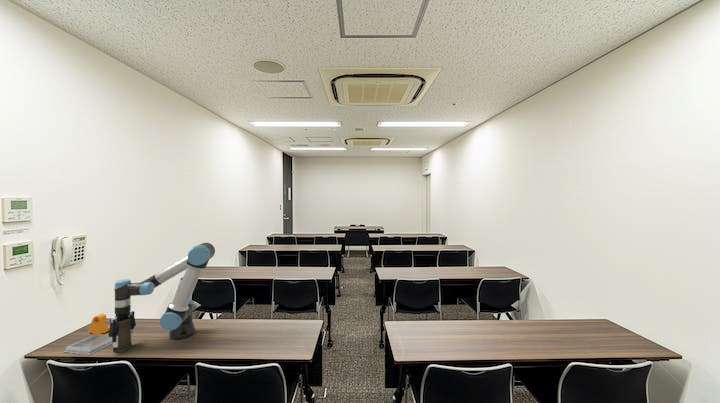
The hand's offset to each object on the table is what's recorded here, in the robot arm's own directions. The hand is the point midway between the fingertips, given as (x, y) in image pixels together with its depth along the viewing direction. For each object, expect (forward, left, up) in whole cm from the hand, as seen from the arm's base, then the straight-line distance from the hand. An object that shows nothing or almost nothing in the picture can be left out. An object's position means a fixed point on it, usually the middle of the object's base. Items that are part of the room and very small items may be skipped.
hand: (122, 343), depth 176 cm
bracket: (+36, -18, -4) cm, 40 cm away
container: (0, 0, -3) cm, 3 cm away
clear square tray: (+21, 0, -3) cm, 21 cm away
